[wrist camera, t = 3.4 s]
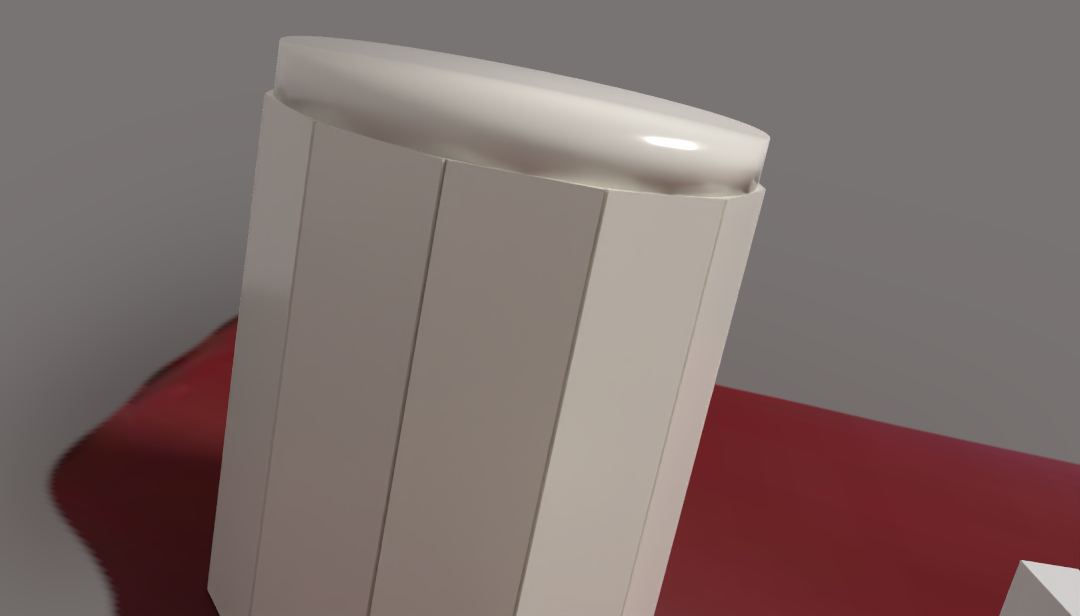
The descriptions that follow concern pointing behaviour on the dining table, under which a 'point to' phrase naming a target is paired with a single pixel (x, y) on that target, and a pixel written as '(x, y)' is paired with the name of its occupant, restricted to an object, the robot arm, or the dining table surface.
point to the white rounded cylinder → (472, 337)
